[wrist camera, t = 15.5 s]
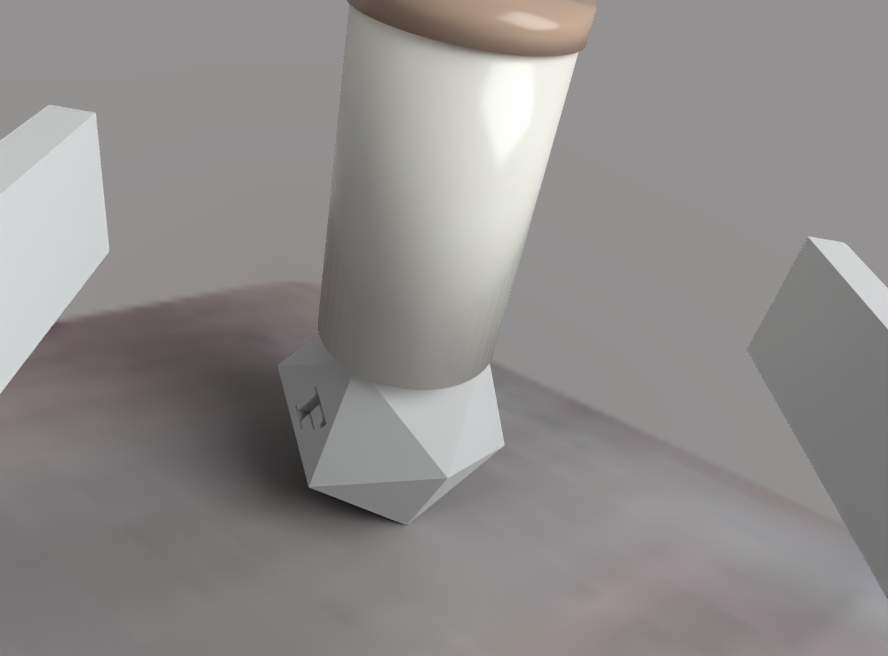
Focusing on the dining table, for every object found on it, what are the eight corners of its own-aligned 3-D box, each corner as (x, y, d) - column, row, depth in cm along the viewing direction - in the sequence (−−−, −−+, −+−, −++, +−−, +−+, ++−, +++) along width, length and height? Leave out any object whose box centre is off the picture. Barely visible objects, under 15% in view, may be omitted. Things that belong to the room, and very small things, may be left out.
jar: (296, 375, 23) (330, -27, 16) (329, 267, 29) (364, -66, 22) (502, 406, 24) (617, 32, 17) (495, 295, 29) (579, -21, 22)
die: (312, 394, 35) (217, 311, 26) (477, 327, 35) (436, 221, 26) (358, 559, 31) (265, 526, 23) (542, 486, 31) (520, 424, 22)
